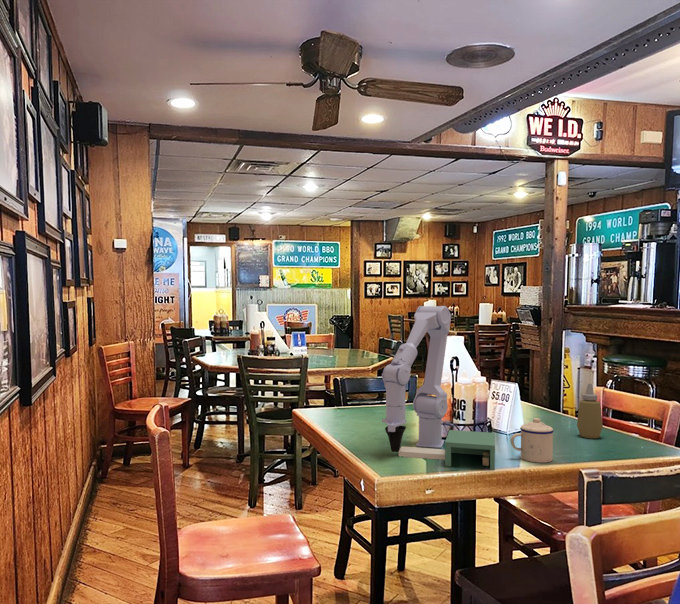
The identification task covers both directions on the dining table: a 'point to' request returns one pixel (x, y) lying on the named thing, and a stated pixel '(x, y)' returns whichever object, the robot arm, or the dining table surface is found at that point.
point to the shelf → (471, 445)
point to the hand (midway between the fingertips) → (395, 451)
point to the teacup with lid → (535, 442)
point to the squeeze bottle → (589, 415)
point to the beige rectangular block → (422, 453)
